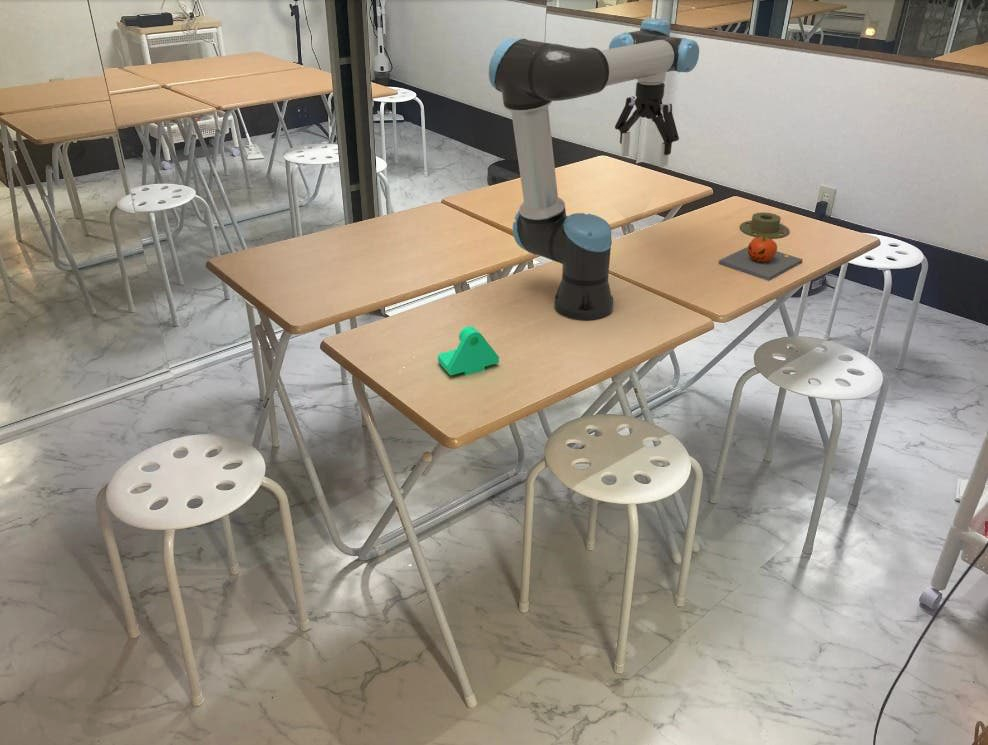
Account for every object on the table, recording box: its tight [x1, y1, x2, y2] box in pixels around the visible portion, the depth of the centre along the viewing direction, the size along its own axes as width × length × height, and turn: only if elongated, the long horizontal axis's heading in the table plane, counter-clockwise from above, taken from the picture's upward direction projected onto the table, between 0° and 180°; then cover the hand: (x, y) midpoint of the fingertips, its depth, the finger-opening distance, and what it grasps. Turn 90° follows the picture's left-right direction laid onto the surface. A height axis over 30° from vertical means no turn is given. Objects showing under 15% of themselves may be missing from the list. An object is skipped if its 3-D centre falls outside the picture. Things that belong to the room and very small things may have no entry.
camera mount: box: [437, 325, 500, 376], centre depth 178 cm, size 12×8×10 cm, turn 117°
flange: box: [739, 212, 790, 240], centre depth 250 cm, size 5×15×15 cm
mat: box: [718, 246, 804, 281], centre depth 228 cm, size 18×16×1 cm
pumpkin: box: [747, 236, 778, 262], centre depth 226 cm, size 8×8×7 cm
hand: (643, 160), depth 224 cm, fingers open, 13 cm apart
